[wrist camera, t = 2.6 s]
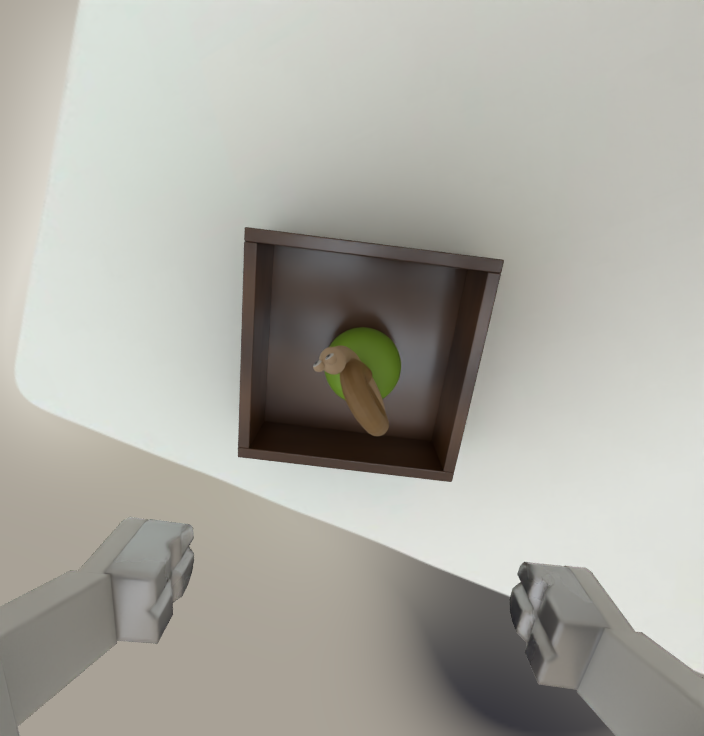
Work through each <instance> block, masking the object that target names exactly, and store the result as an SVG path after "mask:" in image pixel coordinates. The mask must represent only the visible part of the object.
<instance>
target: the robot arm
mask: <svg viewBox="0 0 704 736" xmlns="http://www.w3.org/2000/svg"><path fill="white" fill-rule="evenodd" d="M192 540H193V527H192V526H191V525H189V524H182V523H175V522H167V521H160V520H153V519H150V520H148V519H142V518H135V517H128V518H127V519H124V520H123V521H122V522H121V523H120V524H119V525H118V526H117V527H116V529H115V530H114V531H113V532H112V533H111V534H110V536H108V537H107V539H106V540H105V541H104V542H103V543H102V544H101V545H100V547H99V548H98V549H97V550H96V551H95V552H94V553H93V554H92V556H91V557H90V558H89V559H88V560H87V561H86V562H85V563H84V565H82V567H81V568H80V569H79V570H78V571H73V570H70V571H68V572H66V573H65V574H63V575H61V576H59V577H57V578H55V579H53V580H51V581H49V582H47V583H45V584H43V585H41V586H39V587H37V588H35V589H33V590H31V591H30V592H28V593H26V594H24V595H22V596H20V597H18V598H16V599H14V600H12V601H10V602H8V603H6V604H4V605H2V606H0V736H20V735H19V731H18V726H19V725H20V724H21V723H23V722H24V721H25V720H26V719H27V718H28V717H30V716H31V715H32V714H33V713H34V712H36V711H37V710H38V709H39V708H40V707H42V706H43V705H44V704H45V703H46V702H47V701H49V700H50V699H51V698H52V697H53V696H55V695H56V694H57V693H58V692H59V691H61V690H62V689H63V688H64V687H65V686H67V685H68V684H69V683H70V682H71V681H73V680H74V679H75V678H76V677H77V676H79V675H80V674H81V673H82V672H83V671H85V669H87V668H88V667H89V666H90V665H92V664H93V663H94V662H95V661H96V660H98V659H99V658H100V657H101V656H102V655H104V654H105V653H106V652H107V651H108V650H109V649H111V648H112V647H113V646H114V645H115V644H117V641H129V642H141V643H155V644H157V643H158V642H159V640H160V638H161V636H162V634H163V632H164V630H165V628H166V626H167V624H168V623H169V621H170V619H171V617H172V615H173V602H175V601H176V600H178V599H179V598H180V597H182V596H183V593H184V591H185V589H186V588H187V585H188V583H189V580H190V576H191V573H192V569H193V563H194V553H193V551H192V550H191V549H190V547H189V545H190V543H191V542H192ZM518 576H519V578H520V581H521V582H520V583H519V584H518V585H516V586H515V587H514V588H513V589H512V593H511V597H510V613H511V617H512V622H513V624H514V627H515V629H516V632H517V633H518V634H519V635H520V636H521V637H522V638H523V639H524V640H525V641H526V642H527V647H526V650H525V654H526V655H527V658H528V661H529V663H530V665H531V668H532V670H533V673H534V675H535V677H536V679H537V682H538V684H542V685H549V686H556V687H563V688H570V689H577V692H578V694H579V695H580V696H581V697H582V698H583V699H584V700H585V701H586V703H587V704H588V705H589V706H590V707H591V708H592V709H593V711H594V712H595V713H596V714H597V715H598V716H599V717H600V719H601V720H602V721H603V722H604V723H605V724H606V725H607V726H608V728H609V729H610V730H611V731H612V732H613V733H614V734H615V736H704V678H703V677H701V676H700V675H699V674H698V673H696V672H695V671H693V670H692V669H691V668H689V667H688V666H687V665H685V664H684V663H683V662H681V661H680V660H679V659H677V658H676V657H675V656H673V655H672V654H670V653H669V652H668V651H666V650H665V649H664V648H662V647H661V646H660V645H658V644H657V643H656V642H654V641H653V640H652V639H650V638H649V637H647V636H646V635H645V634H643V633H642V632H635V631H634V629H633V628H632V627H631V625H630V624H629V622H628V621H627V620H626V618H625V617H624V616H623V614H622V613H621V612H620V610H619V609H618V607H617V606H616V605H615V603H614V602H613V601H612V599H611V598H610V597H609V595H608V594H607V592H606V591H605V590H604V588H603V587H602V586H601V584H600V583H599V582H598V580H597V579H596V577H595V576H594V575H593V573H592V572H591V571H589V570H588V569H587V568H583V567H572V566H560V565H550V564H540V563H530V562H524V563H523V564H522V565H521V566H520V568H519V571H518Z"/></svg>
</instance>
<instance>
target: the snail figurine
mask: <svg viewBox="0 0 704 736" xmlns="http://www.w3.org/2000/svg"><path fill="white" fill-rule="evenodd" d="M313 369H314V370H315V371H316V372H322V371H323V370H324V372H325V376H326V379H327V382H328V384H329V386H330V387H331V389H332V390H333V391H334V392H335V393H336V394H337V395H338V396H339V397H341V398H342V399H344V400H346V402H347V405H348V407H349V408H350V410H351V412H352V414H353V415H354V417H355V418H356V420H357V421H358V422H359V423H360V424H361V426H362V427H363V428H364V429H365V430H366V431H367V432H368V433H369V434H371V435H373V436H381V435H383V434H385V433H386V432H387V430H388V428H389V421H388V418H387V415H386V413H385V407H384V403H383V398H385V397H386V396H387V395H388V394H390V393H391V391H392V390H393V389H394V388H395V386H396V384H397V382H398V380H399V377H400V373H401V359H400V355H399V352H398V349H397V347H396V346H395V344H394V343H393V341H392V340H391V339H390V338H389V337H388V336H386V335H385V334H384V333H382V332H380V331H378V330H375V329H372V328H366V327H359V328H353V329H350V330H347V331H345V332H343V333H342V334H340V335H339V336H338V337H337V338H336V339H335V340H334V341H333V342H332V343H331V345H330V346H329V347H328V348H326V349H324V350H323V351H322V353H321V355H320V357H319V361H317V362H315V363H314V365H313Z"/></svg>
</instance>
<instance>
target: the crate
mask: <svg viewBox="0 0 704 736" xmlns="http://www.w3.org/2000/svg"><path fill="white" fill-rule="evenodd" d="M244 240H245V242H244V268H243V302H242V335H241V369H240V402H239V435H238V457H243V458H252V459H260V460H269V461H277V462H286V463H294V464H303V465H311V466H320V467H328V468H337V469H345V470H354V471H362V472H371V473H379V474H388V475H396V476H405V477H414V478H422V479H431V480H439V481H448V482H452V479H453V475H454V470H455V466H456V462H457V458H458V453H459V449H460V445H461V441H462V436H463V432H464V428H465V424H466V420H467V415H468V411H469V407H470V403H471V398H472V394H473V390H474V386H475V381H476V377H477V373H478V369H479V364H480V360H481V356H482V352H483V348H484V343H485V339H486V335H487V331H488V326H489V322H490V318H491V314H492V309H493V305H494V301H495V297H496V292H497V288H498V284H499V280H500V276H501V274H500V273H501V271H502V267H503V262H504V260H501V259H493V258H485V257H477V256H469V255H461V254H453V253H446V252H438V251H430V250H422V249H414V248H406V247H398V246H390V245H383V244H375V243H367V242H359V241H351V240H343V239H335V238H327V237H319V236H312V235H304V234H296V233H288V232H280V231H272V230H264V229H256V228H249V227H245V237H244ZM359 327H366V328H372V329H375V330H378V331H380V332H382V333H384V334H385V335H386V336H388V337H389V338H390V339H391V340H392V341H393V343H394V344H395V346H396V347H397V349H398V352H399V355H400V359H401V373H400V377H399V380H398V382H397V384H396V386H395V388H394V389H393V390H392V391H391V393H390V394H388V395H387V396H386V397H385V398H383V403H384V407H385V413H386V415H387V418H388V421H389V428H388V430H387V432H386V433H385V434H383V435H381V436H373V435H371V434H369V433H368V432H367V431H366V430H365V429H364V428H363V427H362V426H361V424H360V423H359V422H358V421H357V420H356V418H355V417H354V415H353V414H352V412H351V410H350V408H349V407H348V405H347V402H346V400H344V399H342V398H341V397H339V396H338V395H337V394H336V393H335V392H334V391H333V390H332V389H331V387H330V386H329V384H328V382H327V379H326V376H325V372H324V370H323V371H322V372H316V371H315V370H314V369H313V365H314V363H315V362H317V361H319V357H320V355H321V353H322V351H323V350H324V349H326V348H328V347H329V346H330V345H331V343H332V342H333V341H334V340H335V339H336V338H337V337H338V336H339V335H340V334H342V333H343V332H345V331H347V330H350V329H353V328H359Z"/></svg>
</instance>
